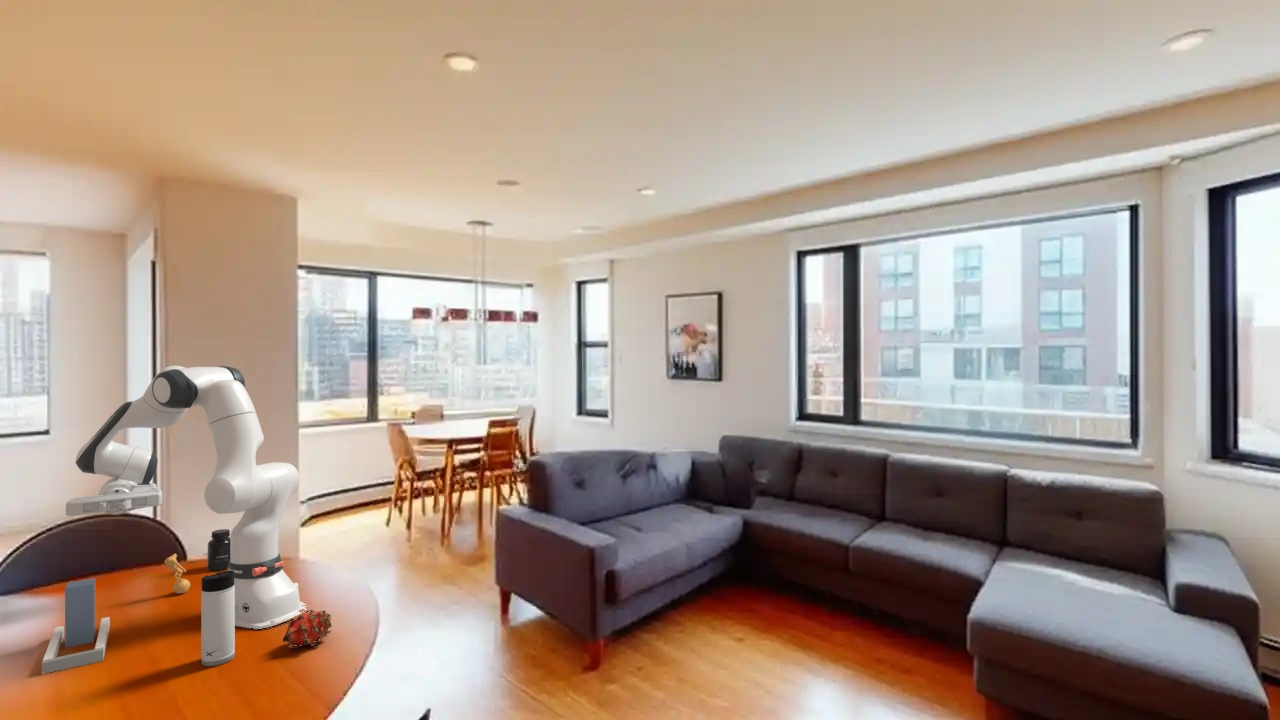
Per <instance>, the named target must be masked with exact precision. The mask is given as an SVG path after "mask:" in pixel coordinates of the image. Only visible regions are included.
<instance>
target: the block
mask: <svg viewBox="0 0 1280 720" xmlns="http://www.w3.org/2000/svg"><path fill="white" fill-rule="evenodd" d="M95 637H96V578H95V577H94V578H87V579H82V580H77V581H76V580H74V581H69V582H67V583H66V585H65V588H64V646H65V647H64V648H65V649H67V648H66V647H69V648H73V647H76V646H75V645H78V646H82V645H81V644H83V645H87V644H90V643H91V644H92V643H94V642H95ZM86 643H87V644H86ZM72 646H73V647H72Z"/></svg>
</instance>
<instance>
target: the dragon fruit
mask: <svg viewBox="0 0 1280 720" xmlns="http://www.w3.org/2000/svg"><path fill="white" fill-rule="evenodd" d="M331 616H332V614H329V613H326V610H319V611H315V610H313V609H311V608H310V610H309V612H307V613H303V614H300V615H298V617H297V618H296V619H294V620H292V621H289V622H288V623H289V624H288V626H287V630H286V631H285V634H284V636H283V638H282V643H283V644H285V643H289V644H288V646H287V648H288V649H290V648H293V649H299V648H298V647H300V645H304V646H307V645H309V646H310V645H311V646H313V645H314V646H315V645H316V644H318V643H319V642H320V641H319V639H320V638H321V639H323V638H326V637H327V636H328V634H331V633H332V630H329V629H330V628H331V627H332V623H331V621H332V617H331ZM314 641H316V642H314ZM318 641H319V642H318ZM294 645H297V646H294ZM311 646H310V647H311ZM314 646H313V647H314Z"/></svg>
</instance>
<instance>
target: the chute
mask: <svg viewBox="0 0 1280 720" xmlns="http://www.w3.org/2000/svg"><path fill="white" fill-rule="evenodd" d="M110 620H111V618H110V616H107V617H101V621H100V625H99V629H98V633H97V639H96V643H95V646H94V649H89V650H85V651H79V652H76V653H71V654H65V655H63V656H62V655H61V656H58V655H57V654H59V652H60V649H59V648H61V646H60V645H62V643H61V642H63V640H62V639H64V638H65V625H60V626H56V627H55V628H54V630H53V632H52V636H51V638H50V641H49V643H48V646H47V647H46V648H47V649H46V650H45V651H46V652H45V653H44V656H43V659H42V661H41V675H42V674H43V673H47V674H49V673H48V672H52V673H55V672H54V671H56V672H60V671H64V670H69V669H73V668H78V667H81V666H88V665H91V664H96V663H99V662H103V661H104V658H105V653H106V648H107V641H108V638H109V632H110V626H111V625H110V623H111V621H110ZM58 651H59V652H58ZM59 670H60V671H59ZM43 675H44V674H43Z"/></svg>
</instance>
